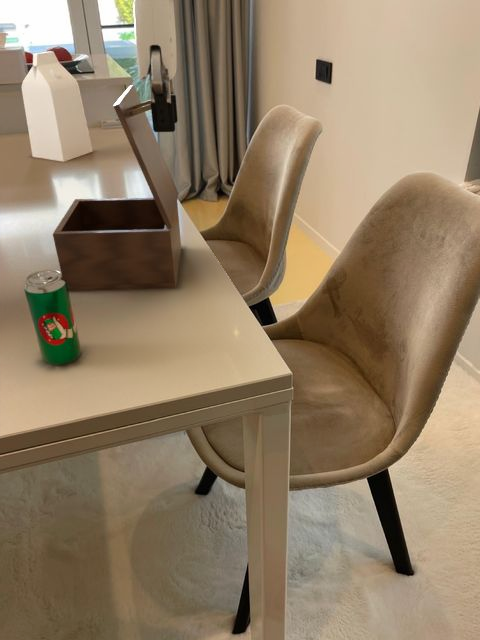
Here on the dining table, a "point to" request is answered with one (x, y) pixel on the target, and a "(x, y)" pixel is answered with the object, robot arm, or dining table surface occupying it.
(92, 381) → the dining table surface
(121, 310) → the dining table surface
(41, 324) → the soda can
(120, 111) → the lid
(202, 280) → the dining table surface
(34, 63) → the milk
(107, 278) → the brown wooden box
